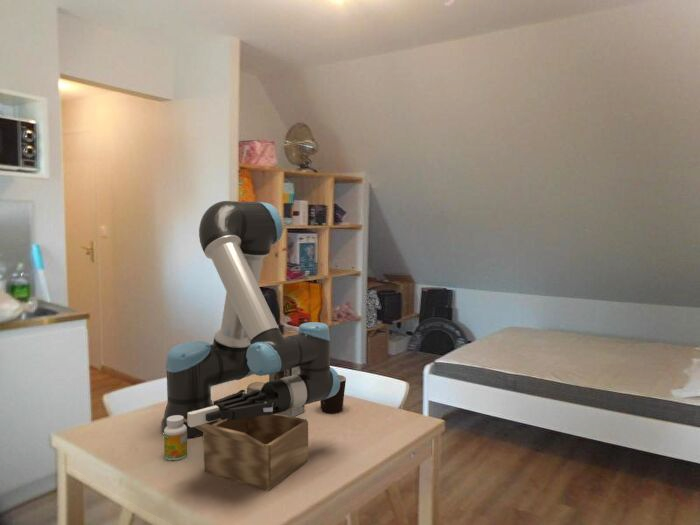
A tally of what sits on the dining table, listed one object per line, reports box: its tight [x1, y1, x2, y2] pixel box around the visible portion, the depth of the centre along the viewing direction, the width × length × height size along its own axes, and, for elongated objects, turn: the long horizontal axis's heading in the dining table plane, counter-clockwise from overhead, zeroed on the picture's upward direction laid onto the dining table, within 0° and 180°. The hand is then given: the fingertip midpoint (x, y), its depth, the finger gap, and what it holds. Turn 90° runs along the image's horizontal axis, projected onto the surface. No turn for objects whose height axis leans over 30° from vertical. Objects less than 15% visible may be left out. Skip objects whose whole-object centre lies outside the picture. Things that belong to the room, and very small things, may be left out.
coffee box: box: [268, 366, 305, 417], centre depth 160 cm, size 9×6×16 cm
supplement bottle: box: [163, 415, 188, 461], centre depth 130 cm, size 5×5×10 cm
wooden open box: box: [202, 414, 309, 492], centre depth 125 cm, size 19×17×10 cm
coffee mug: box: [320, 374, 347, 415], centre depth 164 cm, size 12×9×10 cm
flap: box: [182, 418, 265, 447], centre depth 114 cm, size 17×8×1 cm
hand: (189, 420), depth 109 cm, fingers closed
